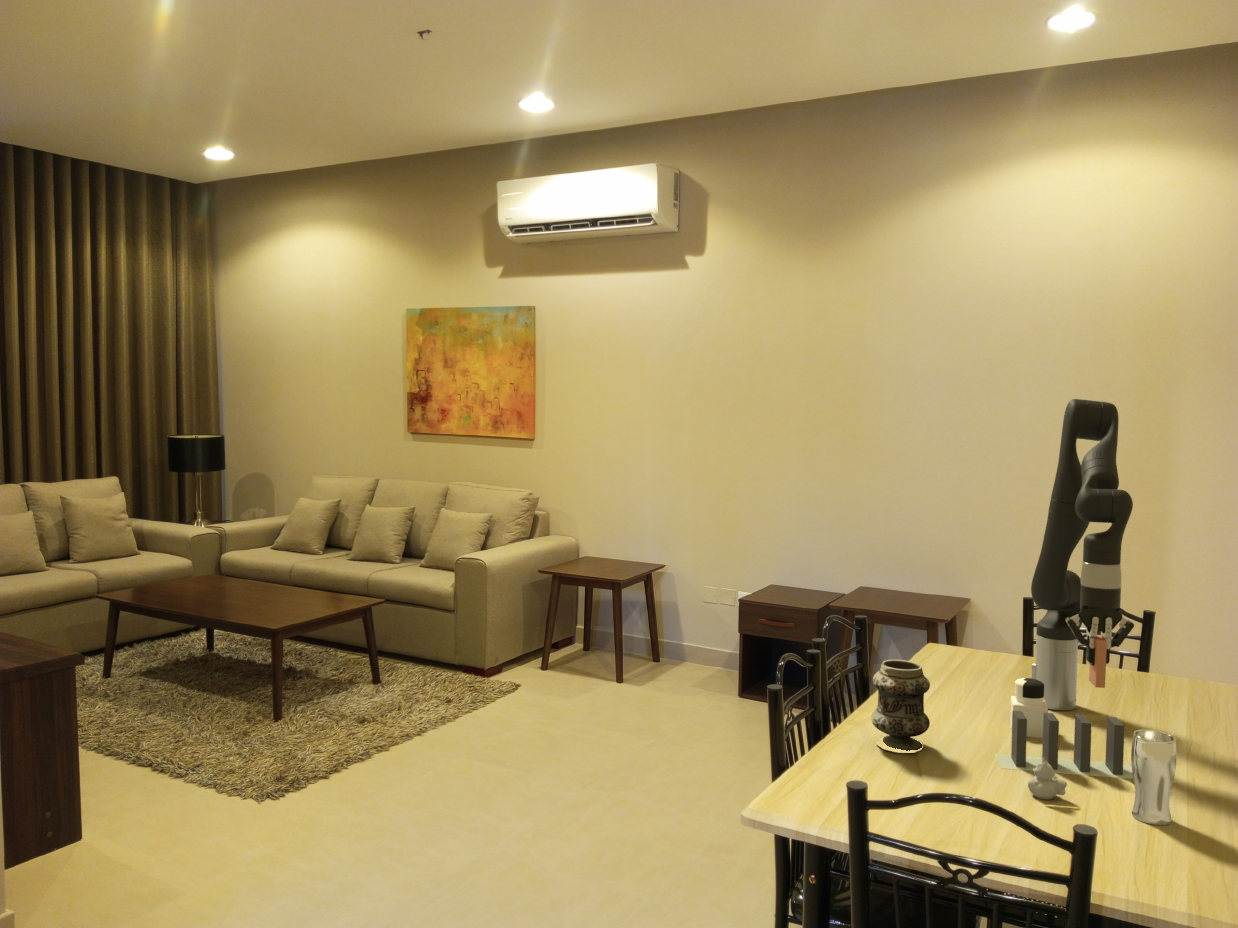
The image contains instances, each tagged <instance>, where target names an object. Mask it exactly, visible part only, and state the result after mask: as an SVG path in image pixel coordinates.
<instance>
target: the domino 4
mask: <svg viewBox="0 0 1238 928" xmlns="http://www.w3.org/2000/svg"><path fill="white" fill-rule="evenodd" d="M1106 651H1107V640H1105V639H1104V638H1103V637H1102V636H1101V634H1097V638H1096V643H1095V665H1094V666H1092V665H1090V664H1089V667H1088V668H1089V671H1088V672H1089V673H1088V674H1089V675H1088V681H1089V683H1091V684H1092V686H1094V687H1095V688H1098V689H1106V676H1107V675H1106V673H1107V670H1106V669H1107V664H1106Z"/></svg>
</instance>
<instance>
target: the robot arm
mask: <svg viewBox="0 0 1238 928" xmlns="http://www.w3.org/2000/svg"><path fill="white" fill-rule="evenodd" d="M1061 427H1062V429H1061V436H1060V445H1059V447H1060V448H1059V455H1058V462H1057V468H1056V473H1055V477H1054V481H1053V486H1052V491H1051V495H1050V501H1049V506H1048V511H1047V521H1046V526H1045V531H1044V534H1043V539H1042V544H1041V550H1040V553H1039V556H1038V560H1037V564H1036V566H1035V569H1034V573H1033V576H1032V580H1031V581H1032V582H1031V586H1030V593H1031V598H1032V601H1033V602H1034V604H1035V605H1036V606H1037V607H1038V608H1040V609H1041V610H1044V611H1046V613H1045V615H1044V616H1043V617H1042V619H1040V620H1039V621H1038V622H1037V624H1036V636H1035V637H1036V640H1035V641H1036V642H1035V663H1032V664H1031V678H1032V679H1036V680H1039V681H1041V682H1042V683H1043V684H1044V699H1045V702H1046V705H1047V707H1048V710H1055V711H1071V710H1075V709H1076V708H1077V685H1078V683H1077V682H1078V681H1077V679H1078V656H1079V655H1078V653H1079V652H1078V651H1079V650H1078V649H1079V645H1078V644H1081V645H1082V646H1085V647H1086V655H1085V657H1086V658H1085V659H1086V661H1087V662H1088V664H1089V666H1090V665H1092V666H1094V665H1095V643H1096V638H1097V635H1098V633H1099V632H1100V635H1101V636H1102V637H1103V638H1104V639H1105V640H1107V651H1106V665H1109V663H1110V655H1111V649H1112V648H1114V647H1117V648H1119V647H1120V646H1121V645H1122V644H1123V643H1124V641H1125V640H1126V638H1127V636H1128V635H1129V634H1131V632H1132V630H1133V629H1134V628H1135V624H1134V623H1133V621H1131V620H1129V619H1126V618H1125V617H1123V613H1122V611H1121V599H1122V598H1121V597H1122V596H1121V594H1122V569H1121V562H1122V561H1121V557H1122V542H1123V539H1124V534H1125V531H1126V529H1127V525H1128V522H1129V520H1130V517H1131V514H1132V511H1133V507H1134V505H1133V503H1134V502H1133V498H1132V496H1131V494H1130V493H1129V492H1128V491H1126V490H1124V489H1119V486H1120V479H1119V473H1118V466H1117V452H1118V441H1119V440H1118V438H1119V412H1118V409H1117V406H1116V405H1115V404H1114V403H1112V402H1111V403H1110V402H1107V401H1101V400H1100V401H1098V400H1089V399H1081V398H1080V399H1079V398H1073V399H1070V400H1069V401H1068V402H1067V404H1066V406H1065V411H1064V415H1063V422H1062V426H1061ZM1078 439H1079V440H1087V441H1093V442H1095V441H1096V442H1098V443H1096V444H1095V445H1094V446H1093V447H1092V448H1090V450H1088V451H1087V452H1086V454H1085V455H1084V456H1083V459H1082V461H1081V462H1080V459H1079V456H1078V451H1077V441H1078ZM1090 523H1099V524H1100V523H1103V524H1104V523H1105V524H1109V523H1110V524H1111V525H1110V527H1109V528H1108V529H1106V530H1105V531H1101V532H1094V533H1090V534H1089V533H1088V534H1086V535H1085V533H1086V532H1087V529H1088V527H1089V525H1090ZM1084 535H1085V537H1083V536H1084ZM1082 537H1083V549H1082V566H1081V571H1080V576H1079V575H1078V574H1077V573H1076V572H1075V571H1073V570H1070V569H1069V570H1068V566H1069V563H1070V559H1071V556H1072V554H1073V552H1074V550H1075V549H1076V547H1077V546H1078V544H1079V543H1080V541H1081V539H1082ZM1082 625H1084V626H1085V628H1086V631H1085V632H1086V634H1085V635H1086V638H1085V636H1084V635H1083V634H1082V632H1081V630H1080V629H1081V627H1082ZM1117 625H1118V626H1119V628H1118V629H1117V631H1116V632H1115V634H1112V633H1113V629H1115V628H1116V627H1117ZM1112 635H1113V636H1112Z"/></svg>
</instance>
